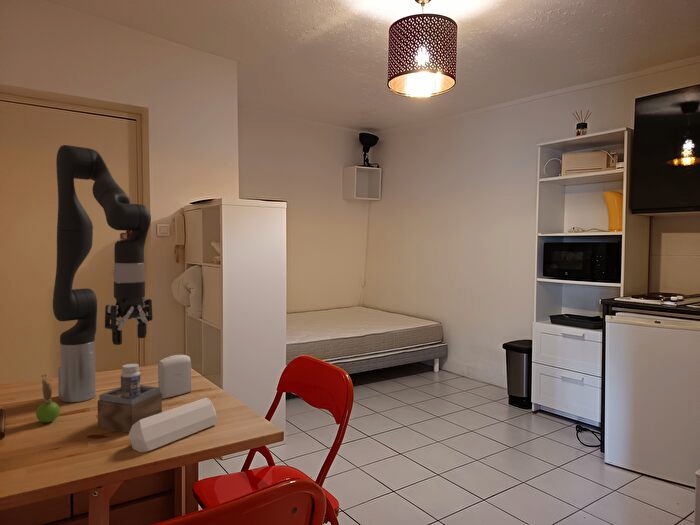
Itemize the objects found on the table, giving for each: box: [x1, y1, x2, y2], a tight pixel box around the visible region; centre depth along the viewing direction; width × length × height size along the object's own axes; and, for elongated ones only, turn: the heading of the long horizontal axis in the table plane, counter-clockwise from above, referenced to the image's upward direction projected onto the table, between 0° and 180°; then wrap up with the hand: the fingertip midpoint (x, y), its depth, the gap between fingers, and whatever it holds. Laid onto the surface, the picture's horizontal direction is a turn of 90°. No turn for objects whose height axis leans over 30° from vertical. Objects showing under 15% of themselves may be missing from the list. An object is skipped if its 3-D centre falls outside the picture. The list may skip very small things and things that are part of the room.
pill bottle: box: [120, 363, 141, 398], centre depth 129 cm, size 5×5×8 cm
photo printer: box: [157, 354, 192, 400], centre depth 152 cm, size 10×4×12 cm, turn 137°
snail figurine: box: [35, 374, 61, 424], centre depth 129 cm, size 5×6×12 cm
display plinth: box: [97, 384, 163, 434], centre depth 129 cm, size 11×11×8 cm
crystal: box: [128, 397, 218, 453], centre depth 122 cm, size 7×7×24 cm
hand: (129, 341), depth 128 cm, fingers open, 8 cm apart
